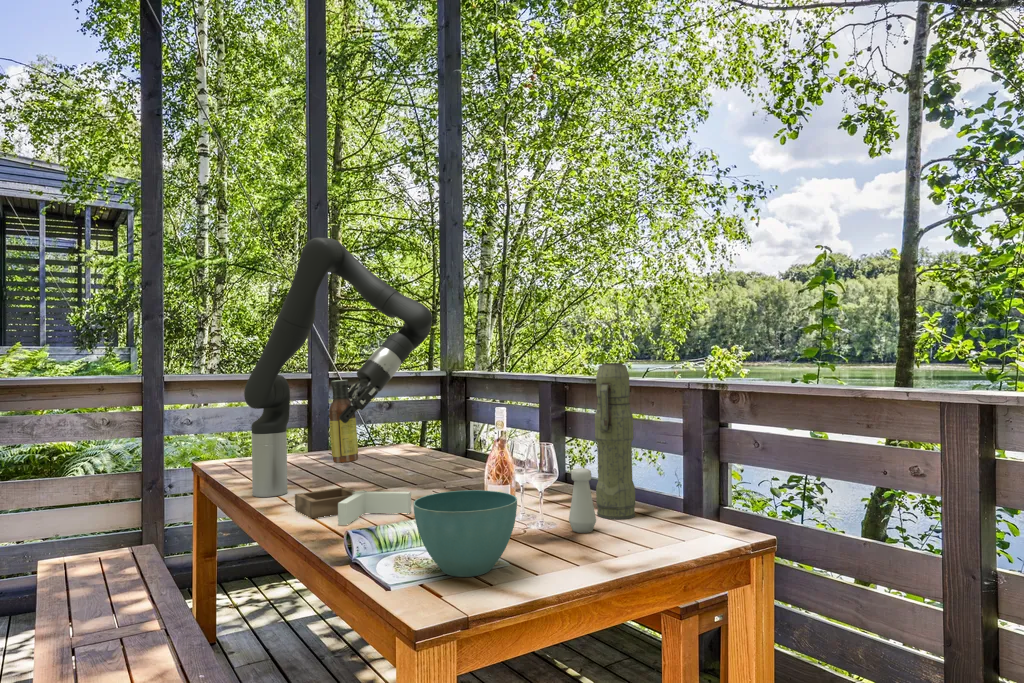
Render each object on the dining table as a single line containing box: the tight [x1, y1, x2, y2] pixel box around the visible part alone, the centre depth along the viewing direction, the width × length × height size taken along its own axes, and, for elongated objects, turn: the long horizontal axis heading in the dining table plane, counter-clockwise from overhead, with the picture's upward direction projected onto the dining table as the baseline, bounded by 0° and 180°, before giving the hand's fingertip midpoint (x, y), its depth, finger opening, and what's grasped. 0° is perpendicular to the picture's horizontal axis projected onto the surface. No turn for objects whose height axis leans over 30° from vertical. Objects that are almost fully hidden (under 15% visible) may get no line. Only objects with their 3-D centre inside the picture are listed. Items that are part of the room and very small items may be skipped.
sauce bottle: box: [328, 379, 359, 464], centre depth 165 cm, size 6×6×20 cm
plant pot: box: [412, 489, 518, 578], centre depth 119 cm, size 18×18×12 cm
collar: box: [294, 486, 356, 519], centre depth 168 cm, size 12×13×4 cm
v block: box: [337, 489, 412, 526], centre depth 161 cm, size 11×18×5 cm, turn 127°
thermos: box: [594, 362, 636, 520], centre depth 157 cm, size 9×12×35 cm
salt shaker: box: [568, 467, 597, 534], centre depth 144 cm, size 6×6×13 cm
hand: (336, 419), depth 164 cm, fingers closed on sauce bottle, 6 cm apart
